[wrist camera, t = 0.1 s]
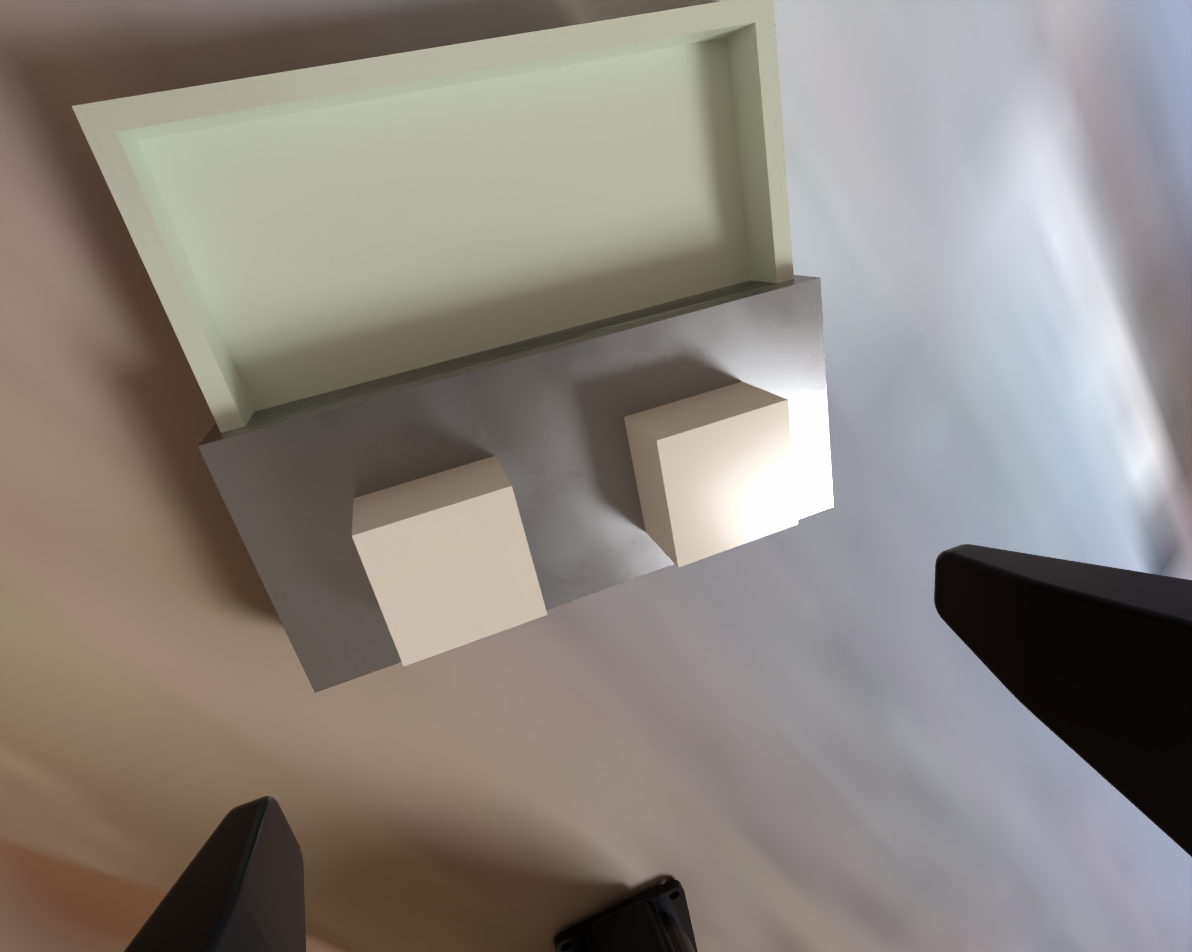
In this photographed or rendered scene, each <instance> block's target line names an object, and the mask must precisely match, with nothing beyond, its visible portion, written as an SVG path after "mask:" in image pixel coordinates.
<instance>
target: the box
mask: <svg viewBox="0 0 1192 952" xmlns="http://www.w3.org/2000/svg"><path fill="white" fill-rule="evenodd" d="M72 108H73V110H74V112H75V115H76V117H77V119H78V121H79V123H80V126H81V128H82V130H83V132H84V134H85V137H86V139H87V141H88V143H89V145H90V147H91V150H92V152H93V154H94V156H95V158H96V161H97V163H98V165H99V167H100V169H101V172H102V174H103V176H104V178H105V180H106V182H107V185H108V187H109V189H110V191H111V193H112V196H113V198H114V200H115V202H116V204H117V207H118V209H119V211H120V213H121V215H122V217H123V220H124V222H125V224H126V226H127V228H128V231H129V233H130V235H131V237H132V239H133V242H134V244H135V246H136V248H137V250H138V253H139V255H140V257H141V259H142V261H143V263H144V266H145V268H146V270H147V272H148V274H149V277H150V279H151V281H152V283H153V285H154V288H155V290H156V292H157V294H158V296H159V298H160V301H161V303H162V305H163V307H164V309H165V312H166V314H167V316H168V318H169V320H170V323H171V325H172V327H173V329H174V331H175V333H176V336H177V338H178V340H179V342H180V344H181V347H182V349H183V351H184V353H185V355H186V358H187V360H188V362H189V364H190V366H191V368H192V371H193V373H194V375H195V377H196V379H197V382H198V384H199V386H200V388H201V390H202V393H203V395H204V397H205V399H206V401H207V404H208V406H209V408H210V410H211V412H212V414H213V417H214V419H215V421H216V423H217V425H218V428H219V430H220V432H221V433H222V432H226V431H230V430H233V429H237V428H241V427H245V426H246V424H247V422H248V421H249V419H250V418H251V416H252V415H253V413H254V412H255V411H259V410H263V409H266V408H270V407H274V406H278V405H281V404H285V403H289V402H293V401H297V400H300V399H304V398H308V397H312V396H315V395H319V394H323V393H327V392H330V391H334V390H338V389H342V388H346V387H349V386H353V385H357V384H361V383H364V382H368V381H372V380H376V379H380V378H383V377H387V376H391V375H395V374H398V373H402V372H406V371H410V370H414V369H417V368H421V367H425V366H429V365H432V364H436V363H440V362H444V361H448V360H451V359H455V358H459V357H463V356H466V355H470V354H474V353H478V352H482V351H485V350H489V349H493V348H497V347H500V346H504V345H508V344H512V343H516V342H519V341H523V340H527V339H531V338H534V337H538V336H542V335H546V334H550V333H553V332H557V331H561V330H565V329H568V328H572V327H576V326H580V325H584V324H587V323H591V322H595V321H599V320H602V319H606V318H610V317H614V316H618V315H621V314H625V313H629V312H633V311H636V310H640V309H644V308H648V307H652V306H655V305H659V304H663V303H667V302H670V301H674V300H678V299H682V298H686V297H689V296H693V295H697V294H701V293H704V292H708V291H712V290H716V289H720V288H723V287H727V286H731V285H735V284H738V283H742V282H746V281H750V280H753V281H761V282H769V283H781V282H785V281H788V280H792V279H794V275H793V262H792V248H791V235H790V221H789V208H788V194H787V181H786V167H785V154H784V140H783V127H782V113H781V99H780V86H779V72H778V59H777V45H776V32H775V18H774V5H773V0H726V1H720V2H714V3H708V4H702V5H695V6H689V7H683V8H677V9H671V10H664V11H658V12H652V13H646V14H639V15H633V16H627V17H621V18H615V19H608V20H602V21H596V22H590V23H584V24H577V25H571V26H565V27H559V28H553V29H546V30H540V31H534V32H528V33H522V34H515V35H509V36H503V37H497V38H490V39H484V40H478V41H472V42H466V43H459V44H453V45H447V46H441V47H435V48H428V49H422V50H416V51H410V52H404V53H397V54H391V55H385V56H379V57H373V58H366V59H360V60H354V61H348V62H342V63H335V64H329V65H323V66H317V67H310V68H304V69H298V70H292V71H286V72H279V73H273V74H267V75H261V76H255V77H248V78H242V79H236V80H230V81H224V82H217V83H211V84H205V85H199V86H193V87H186V88H180V89H174V90H168V91H162V92H155V93H149V94H143V95H137V96H130V97H124V98H118V99H112V100H106V101H99V102H93V103H87V104H81V105H75V106H72ZM772 285H773V284H772ZM769 286H770V285H769ZM765 287H766V286H765ZM760 288H761V286H760ZM756 289H757V288H756ZM751 290H752V289H751ZM751 290H750V291H751ZM753 290H755V289H753ZM746 291H747V290H746ZM744 292H745V291H744ZM740 293H741V292H740ZM740 293H739V294H740ZM742 293H743V292H742ZM733 295H736V294H733ZM725 297H727V296H725ZM725 297H723V298H725ZM728 297H729V296H728ZM721 298H722V297H721ZM721 298H719V299H721ZM714 300H718V299H714ZM710 301H713V300H710ZM706 302H709V301H706ZM706 302H705V303H706ZM703 303H704V302H703ZM703 303H699V304H703ZM699 304H698V305H699ZM695 305H697V304H695ZM695 305H694V304H693V305H689V306H687V308H688V307H691V306H695ZM679 308H680V307H679ZM683 308H685V307H682V308H680V309H683ZM680 309H678V308H677V310H680ZM677 310H676V308H675V310H672V311H671V310H670V312H673V311H677ZM665 313H669V311H668V312H666V311H665ZM665 313H664V312H663V313H660V314H654V315H652V316H651V317H654V316H658V315H662V314H665ZM647 318H650V317H648V315H647V317H646V316H645V319H647ZM643 319H644V317H643V318H640V319H637V320H633V321H632V320H631V321H630V322H628V323H632V322H635V321H639V320H643ZM628 323H627V322H625V323H622V324H623V325H624V324H628ZM622 324H621V325H622ZM612 325H613V324H612ZM616 325H618V324H615V325H613V327H615V326H616ZM618 326H620V324H619V325H618ZM610 327H611V328H612V326H611V325H610V326H609V328H608V326H607V327H606V328H608V329H610ZM616 327H617V326H616ZM598 329H600V330H602V329H604V327H603V328H598ZM598 329H597V331H599V330H598ZM604 330H605V329H604ZM591 331H592V330H591ZM593 331H595V330H593ZM595 332H596V331H595ZM583 333H585V331H584V332H583ZM593 333H594V332H593ZM578 334H580V333H578ZM581 334H582V333H581ZM587 334H589V333H586V335H587ZM590 334H591V333H590ZM573 335H574V334H573ZM576 335H577V334H576ZM562 339H563V338H562Z"/></svg>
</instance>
